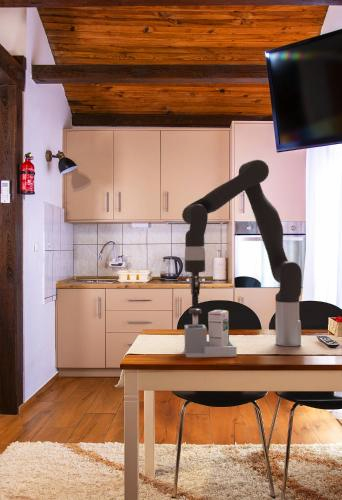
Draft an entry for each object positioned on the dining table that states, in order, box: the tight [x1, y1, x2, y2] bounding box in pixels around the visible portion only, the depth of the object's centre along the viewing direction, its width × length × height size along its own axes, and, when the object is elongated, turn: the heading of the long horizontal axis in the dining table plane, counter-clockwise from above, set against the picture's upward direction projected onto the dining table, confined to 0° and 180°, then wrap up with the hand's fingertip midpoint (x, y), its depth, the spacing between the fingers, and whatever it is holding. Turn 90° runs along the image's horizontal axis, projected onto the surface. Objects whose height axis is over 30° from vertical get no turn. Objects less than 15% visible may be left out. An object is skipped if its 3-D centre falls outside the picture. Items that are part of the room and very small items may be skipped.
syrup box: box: [207, 309, 230, 347], centre depth 175 cm, size 6×6×14 cm
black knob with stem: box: [188, 307, 202, 328], centre depth 175 cm, size 4×4×8 cm
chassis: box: [183, 324, 238, 358], centre depth 175 cm, size 18×11×10 cm, turn 92°
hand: (195, 305), depth 175 cm, fingers closed
